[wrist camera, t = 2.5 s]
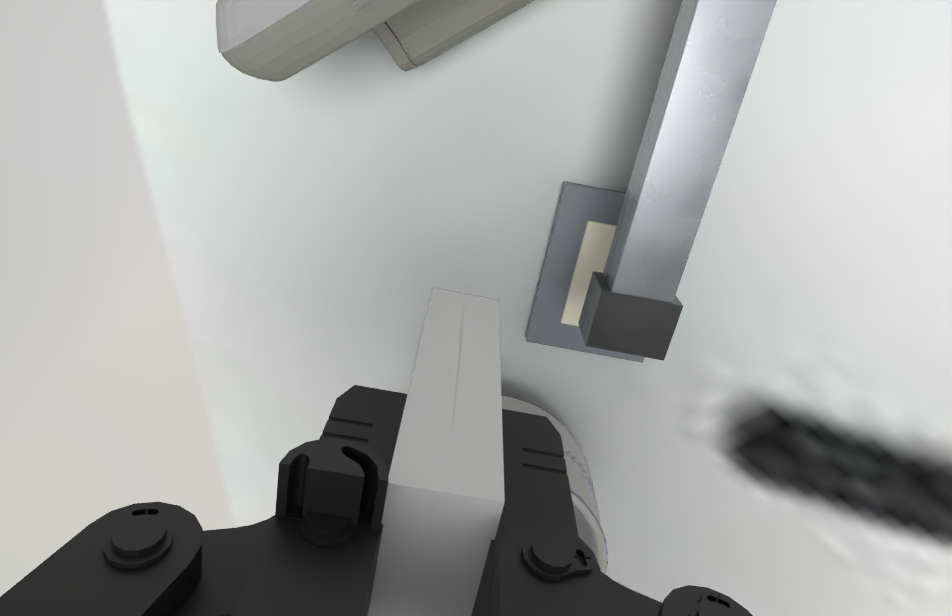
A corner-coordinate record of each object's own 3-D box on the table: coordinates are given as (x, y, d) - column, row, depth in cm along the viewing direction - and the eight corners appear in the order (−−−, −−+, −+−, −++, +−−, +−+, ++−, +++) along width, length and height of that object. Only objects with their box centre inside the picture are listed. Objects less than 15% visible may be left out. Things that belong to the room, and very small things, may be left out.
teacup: (580, 526, 36) (603, 649, 29) (396, 530, 37) (373, 652, 29) (586, 308, 31) (617, 392, 23) (370, 316, 31) (333, 400, 24)
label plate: (640, 356, 32) (643, 364, 31) (525, 335, 31) (526, 343, 31) (690, 206, 29) (695, 210, 28) (564, 181, 28) (565, 185, 28)
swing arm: (757, -361, 18) (791, -412, 16) (889, -329, 18) (939, -374, 16) (569, 321, 26) (575, 344, 24) (659, 337, 27) (673, 362, 25)
